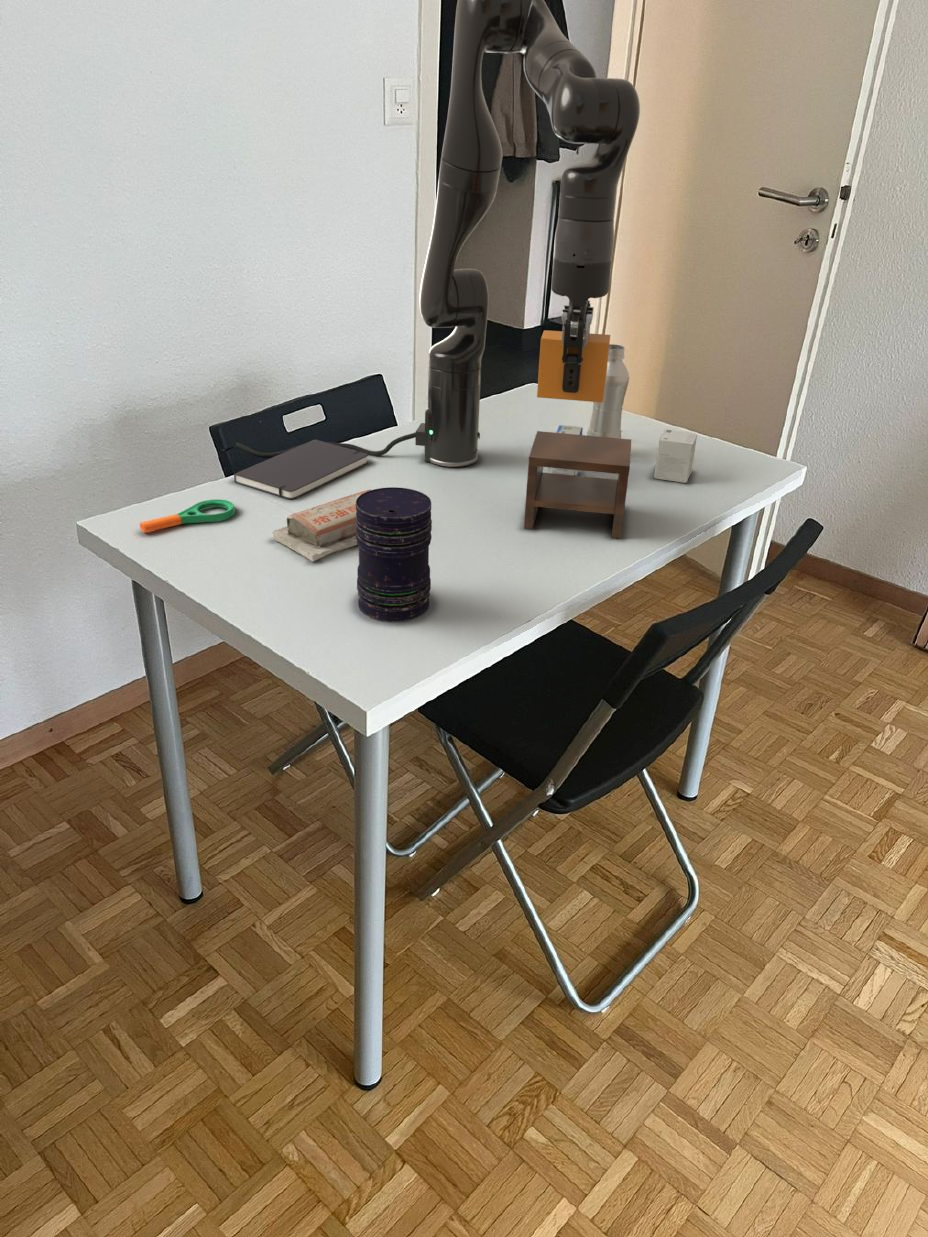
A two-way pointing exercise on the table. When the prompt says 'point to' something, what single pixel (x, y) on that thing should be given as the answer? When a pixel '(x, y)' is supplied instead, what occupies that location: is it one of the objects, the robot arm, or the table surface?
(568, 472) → the medicine box
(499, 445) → the table surface
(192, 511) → the magnifying glass
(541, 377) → the packet
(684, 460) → the product carton
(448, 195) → the robot arm
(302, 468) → the notebook
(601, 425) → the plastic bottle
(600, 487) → the wooden shelf
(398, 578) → the storage jar
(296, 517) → the packaged product
